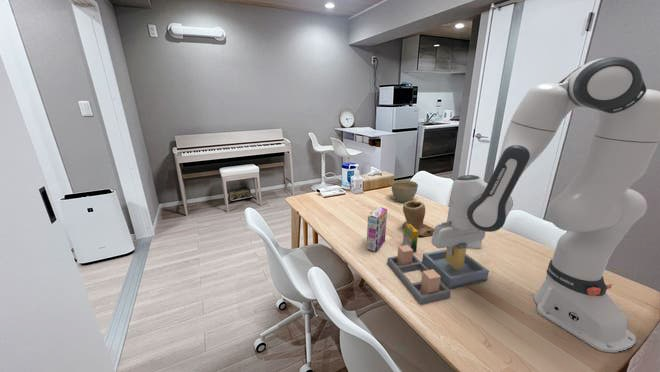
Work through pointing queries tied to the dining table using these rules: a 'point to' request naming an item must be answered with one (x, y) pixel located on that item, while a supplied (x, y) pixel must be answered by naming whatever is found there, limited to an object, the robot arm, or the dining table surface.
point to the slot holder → (416, 286)
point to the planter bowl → (404, 190)
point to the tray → (452, 276)
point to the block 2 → (430, 282)
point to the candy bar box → (376, 229)
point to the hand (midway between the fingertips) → (455, 253)
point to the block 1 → (404, 255)
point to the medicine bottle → (474, 244)
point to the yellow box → (457, 256)
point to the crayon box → (410, 236)
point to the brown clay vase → (416, 217)
